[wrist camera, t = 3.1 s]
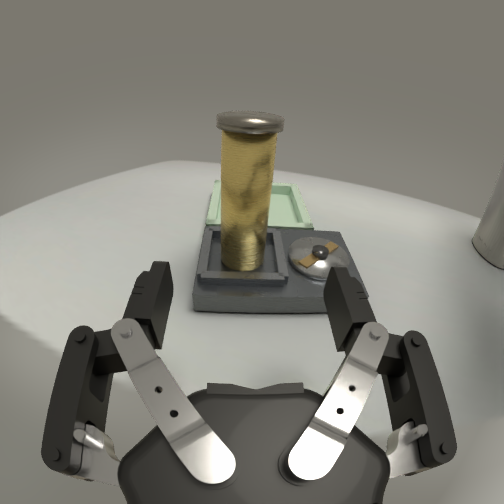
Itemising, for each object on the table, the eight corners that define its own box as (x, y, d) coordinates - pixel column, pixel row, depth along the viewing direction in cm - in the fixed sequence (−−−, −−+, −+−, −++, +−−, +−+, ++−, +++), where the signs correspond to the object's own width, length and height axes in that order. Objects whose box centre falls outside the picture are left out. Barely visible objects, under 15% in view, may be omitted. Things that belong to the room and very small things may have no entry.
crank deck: (335, 245, 32) (341, 223, 30) (361, 310, 24) (373, 287, 22) (205, 241, 31) (205, 217, 29) (194, 310, 23) (191, 284, 21)
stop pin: (266, 242, 28) (280, 113, 20) (270, 274, 24) (289, 124, 16) (218, 240, 28) (219, 110, 20) (214, 273, 24) (213, 120, 16)
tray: (294, 196, 41) (296, 184, 40) (310, 242, 32) (313, 228, 31) (215, 192, 41) (215, 180, 39) (206, 238, 31) (205, 223, 30)
